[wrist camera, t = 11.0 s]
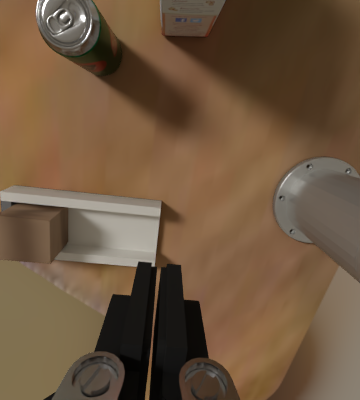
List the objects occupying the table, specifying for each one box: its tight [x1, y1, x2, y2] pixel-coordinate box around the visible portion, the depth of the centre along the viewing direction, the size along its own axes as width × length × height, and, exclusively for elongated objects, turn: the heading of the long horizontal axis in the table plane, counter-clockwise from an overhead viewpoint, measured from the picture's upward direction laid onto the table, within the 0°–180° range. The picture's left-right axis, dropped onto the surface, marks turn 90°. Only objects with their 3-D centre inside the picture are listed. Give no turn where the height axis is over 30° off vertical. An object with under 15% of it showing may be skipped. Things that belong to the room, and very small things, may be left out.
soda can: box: [36, 0, 122, 76], centre depth 26 cm, size 5×5×12 cm
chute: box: [0, 185, 161, 267], centre depth 37 cm, size 20×9×3 cm, turn 83°
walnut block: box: [0, 202, 68, 264], centre depth 34 cm, size 6×6×6 cm
